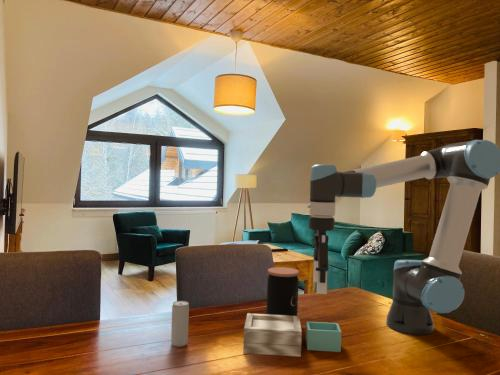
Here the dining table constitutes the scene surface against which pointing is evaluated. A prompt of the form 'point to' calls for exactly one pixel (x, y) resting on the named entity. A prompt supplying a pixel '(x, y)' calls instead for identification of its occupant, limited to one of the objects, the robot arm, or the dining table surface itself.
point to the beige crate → (272, 335)
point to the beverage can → (180, 323)
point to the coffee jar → (282, 291)
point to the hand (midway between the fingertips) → (319, 287)
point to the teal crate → (323, 336)
